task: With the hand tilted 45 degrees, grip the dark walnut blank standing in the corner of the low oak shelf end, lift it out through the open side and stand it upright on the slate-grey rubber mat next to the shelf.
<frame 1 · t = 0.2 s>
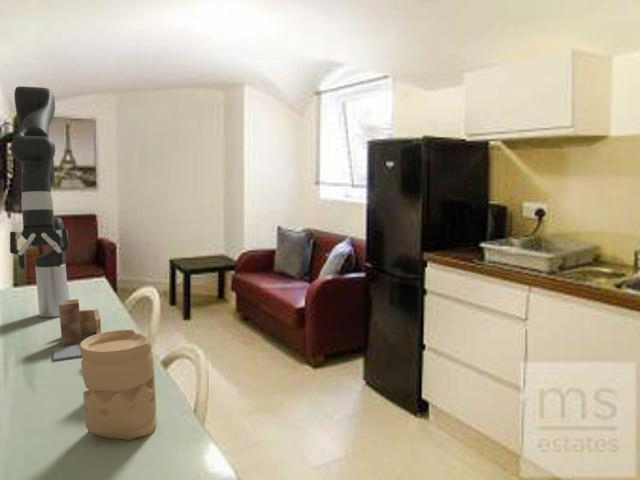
hand: (41, 267, 142), 23 cm above the table, tool pointing down, fingers open, 8 cm apart
container: (122, 431, 98), on the table
shelf end: (71, 342, 148), on the table
mat: (72, 352, 140), on the table
blank: (71, 342, 148), on the table
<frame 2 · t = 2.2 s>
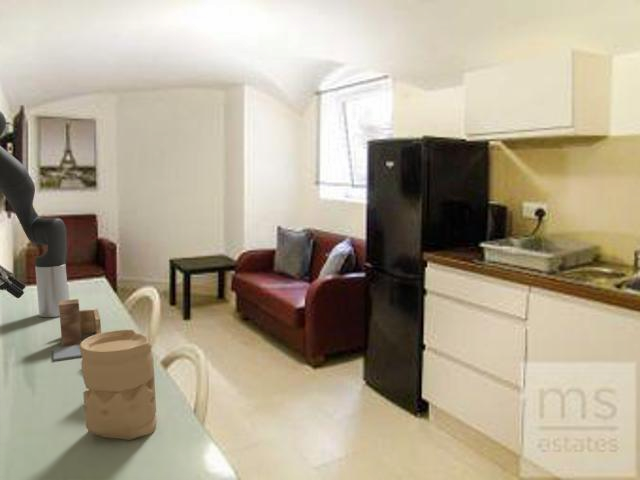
hand: (22, 292, 141), 16 cm above the table, tool tilted 45°, fingers open, 8 cm apart
nothing on the table moved.
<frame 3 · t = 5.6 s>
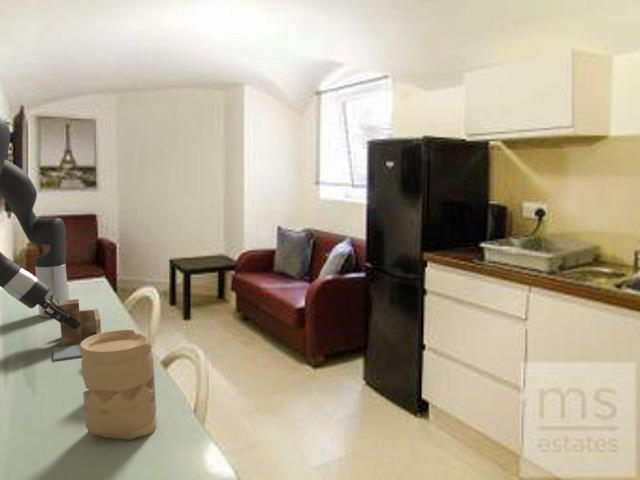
hand: (77, 324, 148), 5 cm above the table, tool tilted 45°, fingers closed on blank, 5 cm apart
blank: (71, 342, 148), on the table, touching gripper
everything else where it was.
when the fingers open (7 cm above the table, at t = 10.3 s): blank drops 1 cm, resting on mat.
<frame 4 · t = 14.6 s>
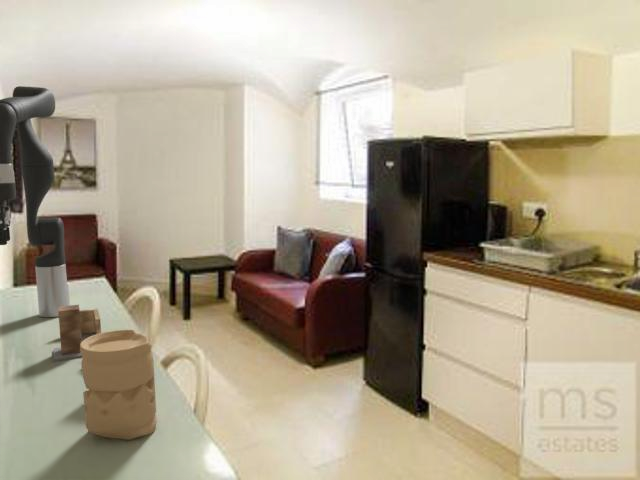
hand: (3, 242, 137), 30 cm above the table, tool pointing down, fingers open, 8 cm apart
blank: (72, 350, 140), point 1 cm above the table, touching mat
everything else where it was.
at the end: blank inside the target area on the mat (0.1 cm from its centre), point 0.6 cm above the mat's base; blank tilted 0°; the gripper is holding nothing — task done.
